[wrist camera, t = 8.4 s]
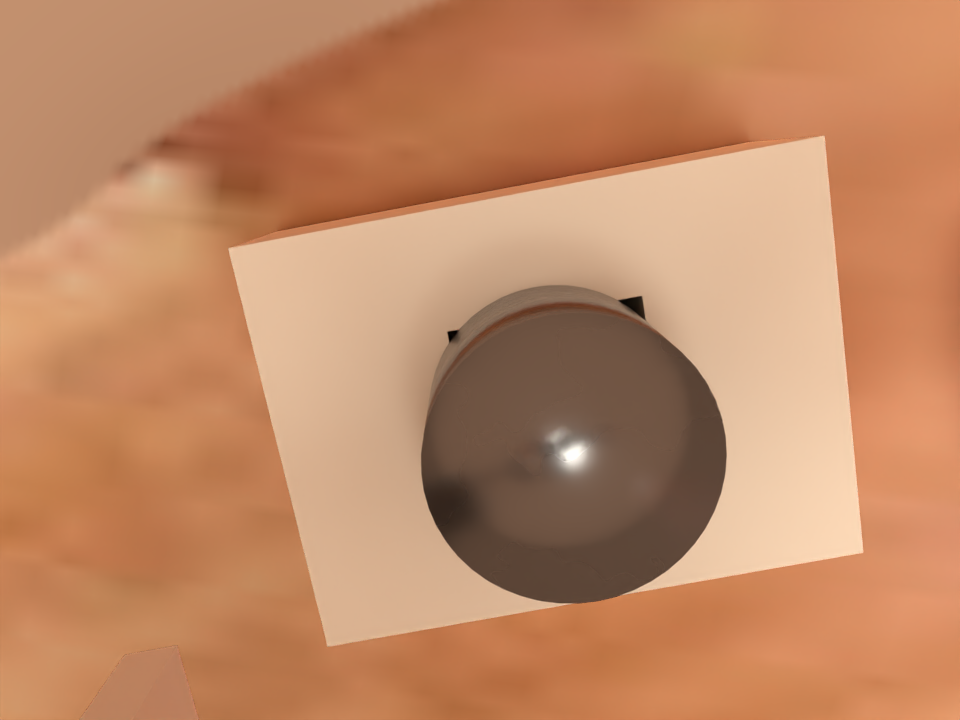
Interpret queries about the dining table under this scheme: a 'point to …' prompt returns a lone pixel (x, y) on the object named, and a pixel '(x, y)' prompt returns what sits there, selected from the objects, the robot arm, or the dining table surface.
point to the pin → (569, 447)
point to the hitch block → (540, 262)
